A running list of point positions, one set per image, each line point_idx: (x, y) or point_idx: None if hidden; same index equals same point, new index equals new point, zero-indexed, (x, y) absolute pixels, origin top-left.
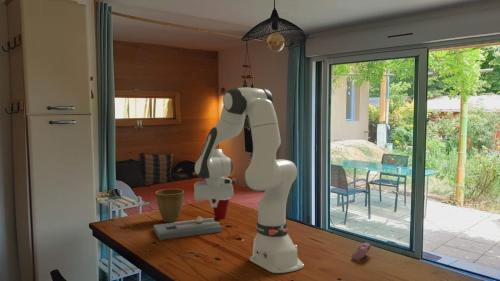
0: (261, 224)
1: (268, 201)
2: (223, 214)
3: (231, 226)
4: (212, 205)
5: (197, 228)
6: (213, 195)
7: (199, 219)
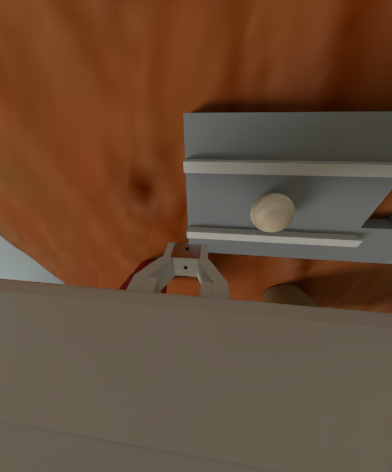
0: None
1: None
2: (141, 268)
3: (131, 178)
4: (201, 252)
5: (317, 141)
6: (186, 340)
7: (284, 202)
